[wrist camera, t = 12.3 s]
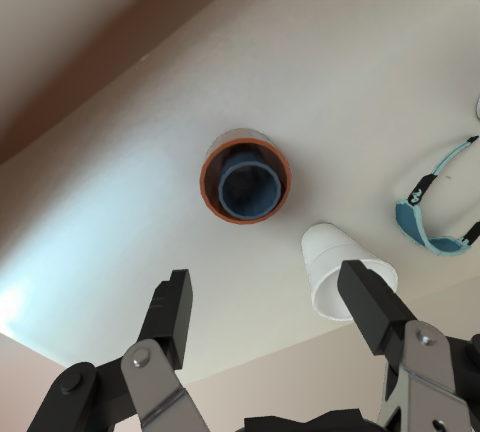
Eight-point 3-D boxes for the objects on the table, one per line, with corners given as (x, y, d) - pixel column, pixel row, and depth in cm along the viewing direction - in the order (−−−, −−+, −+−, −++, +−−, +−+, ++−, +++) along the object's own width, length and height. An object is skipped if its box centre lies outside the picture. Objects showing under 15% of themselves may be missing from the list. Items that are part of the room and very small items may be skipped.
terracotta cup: (201, 129, 27) (194, 140, 21) (280, 127, 27) (294, 136, 21) (208, 202, 31) (204, 226, 26) (276, 199, 32) (287, 222, 26)
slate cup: (218, 144, 27) (216, 163, 20) (267, 142, 28) (282, 160, 21) (221, 191, 30) (220, 220, 23) (266, 189, 30) (278, 217, 23)
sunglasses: (374, 216, 34) (400, 230, 29) (451, 126, 30) (494, 126, 26) (429, 254, 38) (459, 272, 34) (502, 179, 34) (547, 188, 30)
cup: (279, 226, 34) (301, 280, 24) (344, 200, 32) (394, 246, 23) (299, 271, 39) (323, 330, 29) (356, 249, 37) (402, 305, 27)
